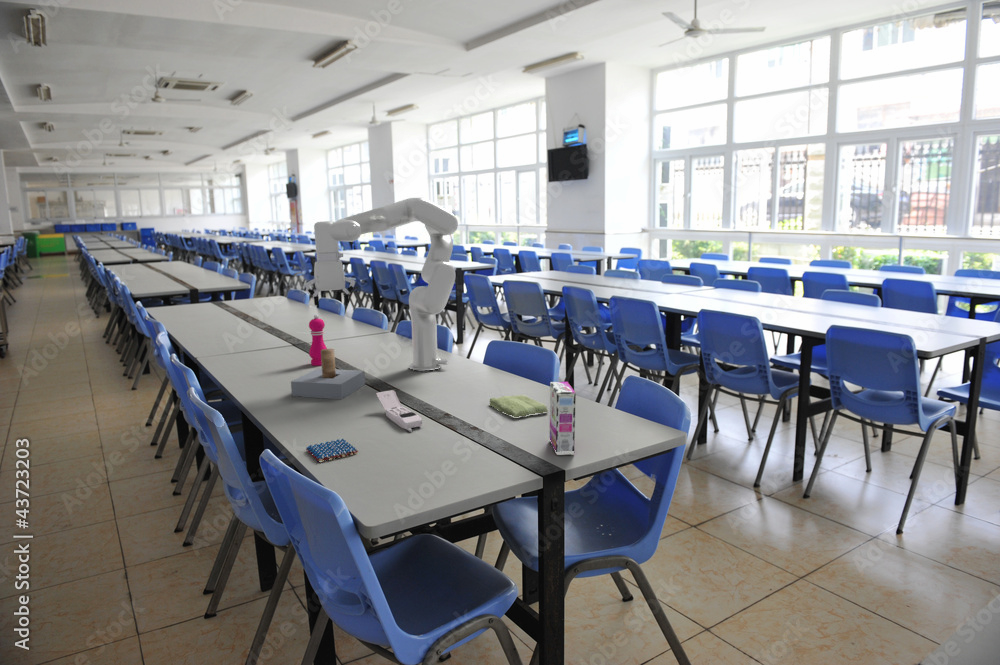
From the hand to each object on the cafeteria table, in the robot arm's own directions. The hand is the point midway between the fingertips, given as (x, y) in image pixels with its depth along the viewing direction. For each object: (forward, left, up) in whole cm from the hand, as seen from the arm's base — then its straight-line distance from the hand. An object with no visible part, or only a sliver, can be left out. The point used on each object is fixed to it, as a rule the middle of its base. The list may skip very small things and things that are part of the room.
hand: (332, 306), depth 231 cm
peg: (-3, +11, -27) cm, 30 cm away
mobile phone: (-38, +36, -28) cm, 59 cm away
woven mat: (-31, +64, -28) cm, 77 cm away
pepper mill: (+19, -23, -28) cm, 40 cm away
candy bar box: (-88, +49, -28) cm, 105 cm away
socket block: (-3, +11, -27) cm, 30 cm away
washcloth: (-70, +19, -28) cm, 78 cm away
